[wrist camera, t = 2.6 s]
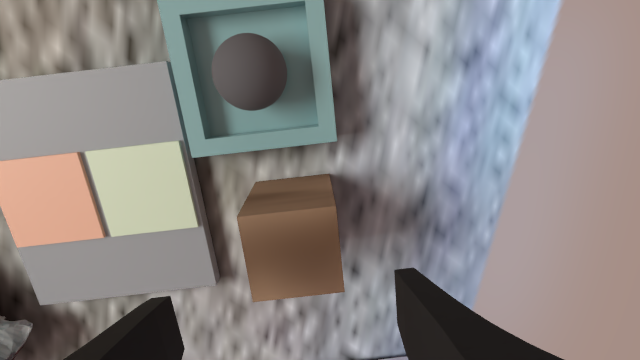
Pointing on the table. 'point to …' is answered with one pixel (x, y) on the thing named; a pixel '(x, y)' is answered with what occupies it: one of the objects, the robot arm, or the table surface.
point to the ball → (249, 71)
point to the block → (291, 238)
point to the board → (102, 184)
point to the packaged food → (13, 337)
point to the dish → (301, 60)
